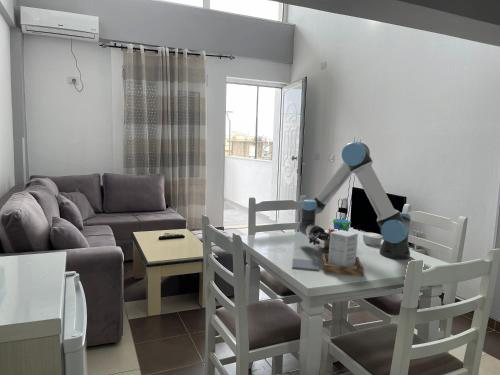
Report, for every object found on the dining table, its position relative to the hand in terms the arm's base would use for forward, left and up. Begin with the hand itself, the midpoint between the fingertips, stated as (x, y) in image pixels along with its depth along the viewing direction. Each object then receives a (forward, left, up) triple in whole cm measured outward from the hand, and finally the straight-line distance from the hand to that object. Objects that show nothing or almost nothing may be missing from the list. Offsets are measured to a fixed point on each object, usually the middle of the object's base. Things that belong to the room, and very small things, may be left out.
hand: (336, 244), depth 178 cm
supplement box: (-3, +4, -10) cm, 11 cm away
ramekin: (-26, -46, -10) cm, 54 cm away
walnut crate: (-3, +4, -10) cm, 11 cm away
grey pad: (+14, +5, -10) cm, 18 cm away
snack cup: (-9, -56, -10) cm, 57 cm away
